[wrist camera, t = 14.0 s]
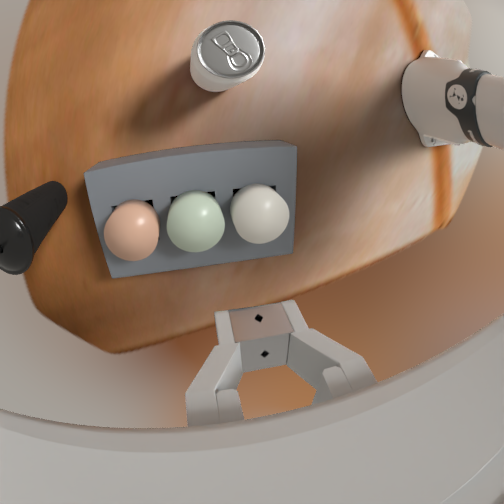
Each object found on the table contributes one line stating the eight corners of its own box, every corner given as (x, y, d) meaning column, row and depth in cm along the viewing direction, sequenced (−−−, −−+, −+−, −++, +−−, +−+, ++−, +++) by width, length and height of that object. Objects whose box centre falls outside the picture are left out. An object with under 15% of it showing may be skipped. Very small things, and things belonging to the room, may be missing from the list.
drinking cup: (33, 218, 30) (-39, 302, 13) (34, 168, 27) (-57, 231, 10) (74, 226, 33) (12, 322, 16) (78, 175, 29) (-5, 247, 13)
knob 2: (267, 170, 35) (290, 189, 28) (267, 212, 38) (288, 240, 31) (222, 174, 34) (232, 194, 26) (225, 217, 37) (235, 247, 30)
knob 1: (160, 182, 32) (152, 204, 25) (166, 224, 35) (162, 257, 28) (116, 189, 31) (97, 214, 24) (125, 231, 34) (112, 264, 27)
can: (210, 102, 29) (222, 98, 19) (179, 65, 26) (175, 43, 16) (252, 73, 28) (284, 58, 18) (222, 37, 25) (240, 4, 15)
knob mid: (214, 175, 33) (222, 195, 26) (217, 217, 37) (226, 248, 29) (167, 181, 32) (162, 203, 25) (174, 223, 35) (171, 255, 28)
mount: (280, 140, 34) (297, 146, 29) (279, 233, 41) (292, 253, 36) (99, 162, 29) (83, 172, 24) (120, 255, 37) (112, 278, 32)
